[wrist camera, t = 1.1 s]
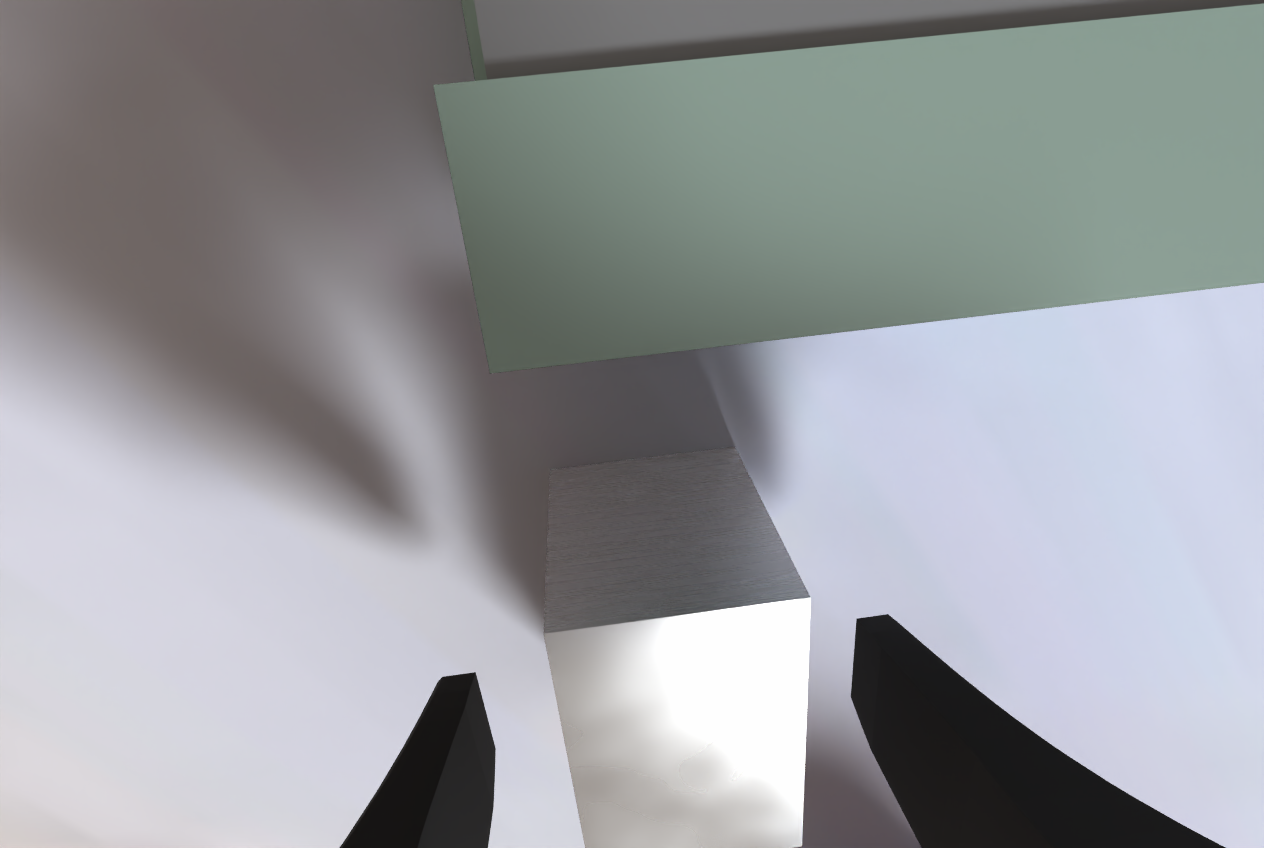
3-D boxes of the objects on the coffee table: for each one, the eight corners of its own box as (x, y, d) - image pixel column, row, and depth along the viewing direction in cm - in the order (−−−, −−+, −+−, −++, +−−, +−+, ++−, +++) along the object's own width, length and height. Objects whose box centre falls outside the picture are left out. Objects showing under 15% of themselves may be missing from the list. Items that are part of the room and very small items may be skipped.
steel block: (734, 444, 14) (810, 597, 10) (739, 651, 17) (802, 846, 13) (550, 467, 14) (543, 633, 10) (584, 672, 17) (591, 878, 12)
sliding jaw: (1156, -38, 10) (1441, -108, 7) (1098, 230, 11) (1305, 277, 8) (464, 27, 9) (413, -14, 6) (511, 296, 11) (489, 374, 8)
